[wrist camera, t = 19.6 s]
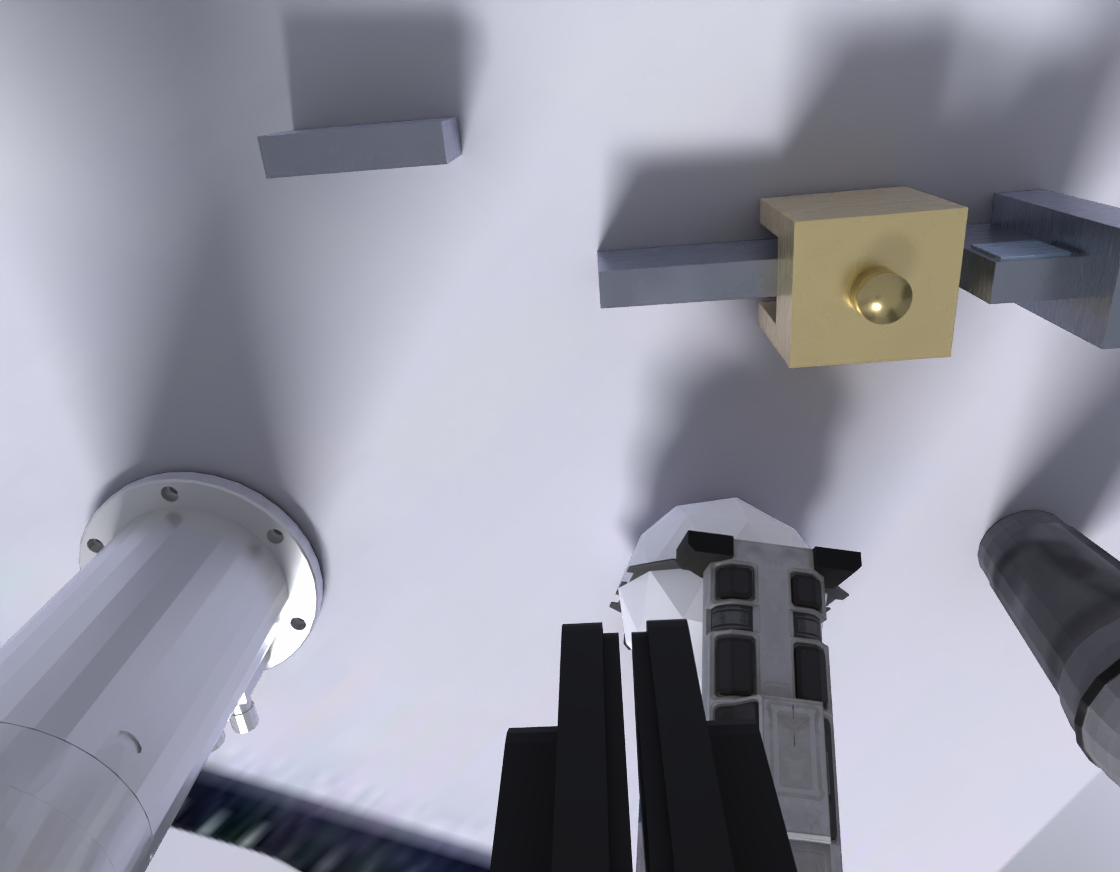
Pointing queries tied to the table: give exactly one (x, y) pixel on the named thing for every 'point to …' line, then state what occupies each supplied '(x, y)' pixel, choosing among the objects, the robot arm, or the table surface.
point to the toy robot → (753, 645)
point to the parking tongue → (360, 147)
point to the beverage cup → (1064, 619)
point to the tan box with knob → (863, 276)
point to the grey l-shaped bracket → (987, 272)
